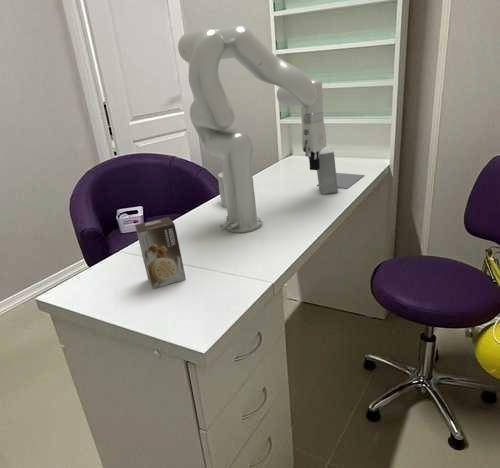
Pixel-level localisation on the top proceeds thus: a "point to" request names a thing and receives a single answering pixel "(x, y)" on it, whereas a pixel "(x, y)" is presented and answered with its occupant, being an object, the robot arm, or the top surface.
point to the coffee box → (160, 252)
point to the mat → (346, 180)
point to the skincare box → (327, 172)
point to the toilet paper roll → (221, 189)
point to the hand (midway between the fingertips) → (314, 169)
